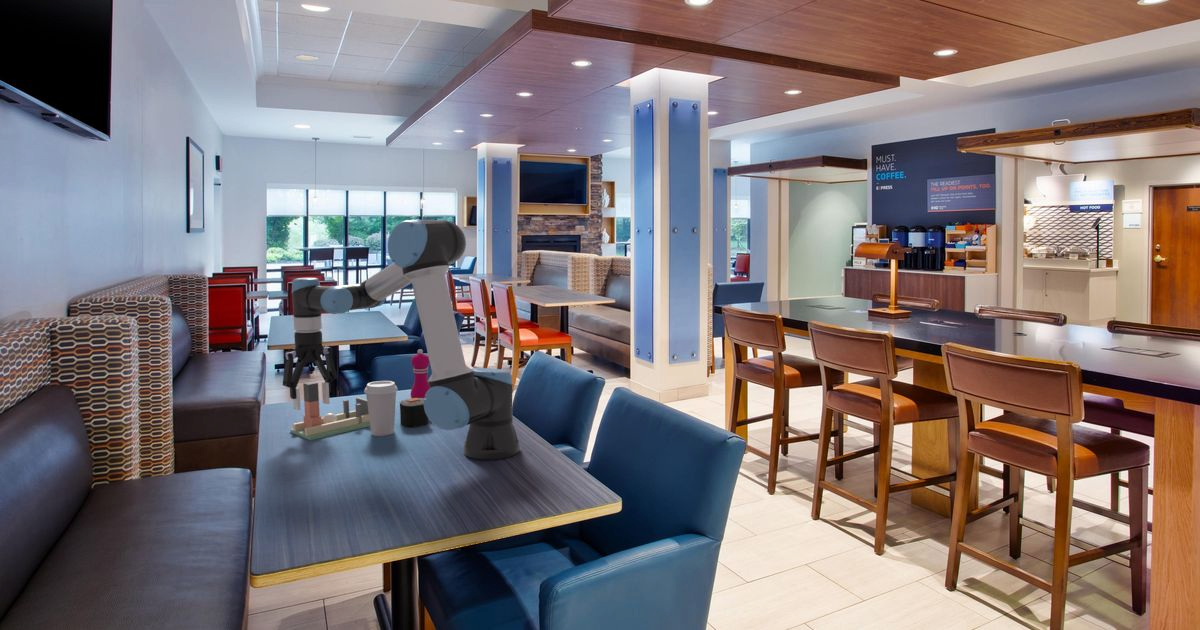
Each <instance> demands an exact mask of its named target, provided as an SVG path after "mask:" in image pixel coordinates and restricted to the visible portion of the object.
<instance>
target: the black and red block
mask: <svg viewBox="0 0 1200 630" xmlns="http://www.w3.org/2000/svg"><path fill="white" fill-rule="evenodd" d="M319 395H320V394H319V383H318V382H315V381H309V382H303V399H304V400H303V402H304V415H302V416H303V421H304V429H305V428H308V427H313V426H317V425H322V420H321V418H322V416H321V415H320V396H319Z"/></svg>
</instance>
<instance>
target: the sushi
mask: <svg viewBox="0 0 1200 630" xmlns="http://www.w3.org/2000/svg"><path fill="white" fill-rule="evenodd" d="M423 402H424V398H423V399H422V398H419V399H418V398H413V399H412V398H411V397H410V398H409V399H408V398H407V399H406V398H405V399H404V400H401V401H399V402H398V403H399V412H400V413H399V415H400V421H399V422H400V426H402V427H404V428H408V429H410V428H419V427H424V426H428V424H429V418H428V417H427V415H426V413H425V410H424V403H423Z"/></svg>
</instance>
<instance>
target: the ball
mask: <svg viewBox="0 0 1200 630" xmlns="http://www.w3.org/2000/svg"><path fill="white" fill-rule="evenodd" d="M335 421H337V417H336V414H335V413H332V412H328V413H326V414H325V415H324V416H323V423H324V424H326V423H331V422H335Z"/></svg>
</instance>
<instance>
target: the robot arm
mask: <svg viewBox="0 0 1200 630" xmlns="http://www.w3.org/2000/svg"><path fill="white" fill-rule="evenodd" d="M466 245H467V241H466V236H465V233H464V232H463V230H462V229H461V228H460V227H459V226H458V225H457V224H456V223H455V222H453V221H450V220H445V219H439V220H438V219H437V220H436V219H418V218H416V219H414V218H413V219H410V220H403V221H400V222H398V223H397V224H396V225H395V226H394V227H393V228H392V230H391V232H390V234H389V236H388V238H387V253H388V257H389V259H390V261H392V262H393V263H391V264H389V265H388V266H386V267H385V268H383V269H381V270H380V271H378V272H377V273H374V274H373V275H371V276H370V277H369V278H367V279H366V280H363V281H361V282H360V283H353V284H352V283H351V284H343V285H342V284H341V285H334V286H333V285H331V286H326V285H325V286H324V285H321V283H320V280H319V279H320V278H318V277H298V278H294V279H293V280H292V282H291V285H292V286H291V297H292V299H291V301H292V311H293V312H292V313H293V330H294V331H295V332H294V334H293V335H294V345H295V346H294V347H295V348H294V350H293V351H285V352H284V358H285V363H284V370H283V371H284V372H283V378H282V379H283V380H282V386H284V387H287V388H289V397H290V399H292V402H293V403H292V404H293V409H294V410H296V411H300V410H301V408H302V407H301V394H300V393H301V392H300V389H301V388H300V387H297V386H298V385H299V381H300V380H301V376H302V373H303V371H304V368H305V366H307V364H308V363H312V362H313V363H315V365H316V368H317V369H318V371H319V372H320V374H321V376H322V378H323V380H324V381H321V397H322V398H321V399H322V403H323V404H325V405H330V393H331V392H332V383H333V382H334V380H337V378H338V374H337V370H336V365H335V361H334V357H333V350H334V348H333V347H329V346H323V331H322V330H321V329H322V327H323V326H322V313H325V314H326V313H328V314H332V315H336V314H338V315H339V314H341V315H342V314H346V313H347V312H348V311H356V310H364V309H365V310H366V309H374V308H376V307H381V306H382V305H384V304H385V301H386V300H387V298H389V297H390V296H392V295H394V294H395V293H397V292H399V291H400V290H402V289H404V288H405V287H407V286H409V285H410V284H411V286H412V290H413V295H414V299H415V304H416V308H417V313H418V317H419V321H420V325H421V329H422V333H423V338H424V341H425V347H426V351H427V356H428V357H429V360H430V362H429V365H430V367H431V368H430V369H431V375H430V376H429V377H428V379H427V381H428V383H429V388H430V389H429V390H428V391H427V393H426V394H425V398H424V402H423V403H424V410H425V413H426V415H427V417H428V421H430V422H431V424H433V425H435V426H436V428H438V429H440V430H444V431H453V430H456V429H462V428H464V427H466V426H467V425H469V427H468V431H467V435H466V439H465V441H464V443H463V453H464V456H466V457H467V458H468V457H469V458H471V459H474V460H475V459H476V460H483V461H487V460H488V461H490V460H491V461H493V460H501V459H503V460H504V459H507V458H510V457H513V456H516V455H517V454H518V453H519V452H520V441H519V439H518V435H517V432H516V429H515V427H514V423H513V420H514V419H513V418H514V417H513V415H514V414H513V413H514V412H513V407H514V406H513V386H514V384H513V375H512V374H511V372H510V371H508V370H506V369H502V368H500V369H499V368H492V367H491V368H490V367H489V368H488V367H476V368H475V367H474V368H471V367H469V366H468V365H467V364H466V361H465V356H464V352H463V348H462V347H463V346H462V343H461V340H460V334H459V331H458V327H457V321H456V317H455V313H454V308H453V303H452V301H451V296H450V291H449V286H448V281H447V277H446V273H447V272H448V270H449V268H450V265H452V264H454V263H456V262H457V261H458V260H459V259H461V257H462V256H463V255H464V253H465V250H466ZM322 354H324V358H325V359H324V360H325V363H326V366H325V364H324V361H323V358H322V357H321V356H322ZM295 357H297V360H296V363H295V361H294V359H295ZM294 363H295V368H294ZM326 367H327V368H326ZM293 369H294V370H293Z"/></svg>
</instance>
